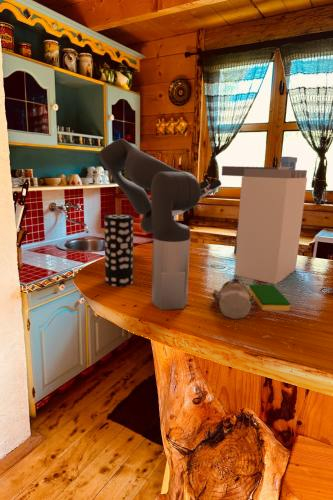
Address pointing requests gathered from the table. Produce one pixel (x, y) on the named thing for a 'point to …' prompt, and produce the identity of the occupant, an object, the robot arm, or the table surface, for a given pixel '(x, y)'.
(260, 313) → the table surface
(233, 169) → the grey rectangular bar
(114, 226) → the white-spotted black cylinder
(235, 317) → the ceramic sculpture
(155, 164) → the robot arm
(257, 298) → the dish sponge
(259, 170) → the stand
